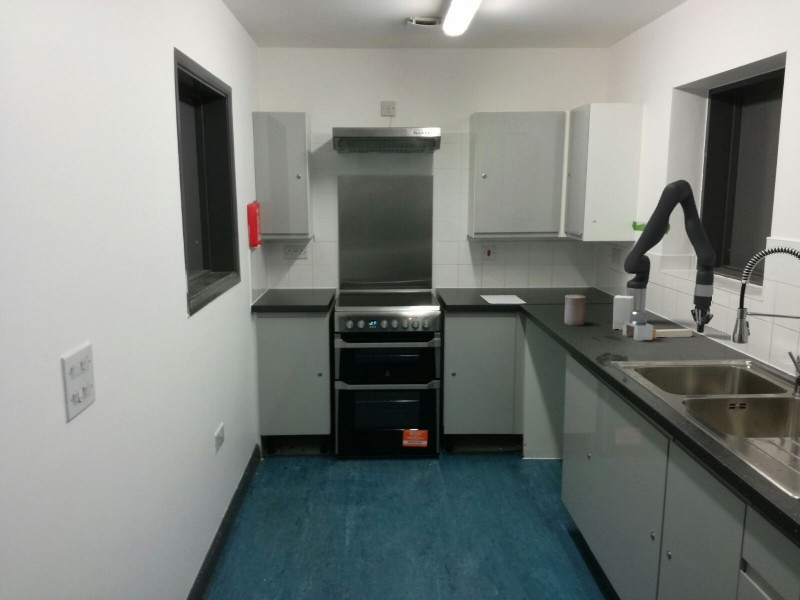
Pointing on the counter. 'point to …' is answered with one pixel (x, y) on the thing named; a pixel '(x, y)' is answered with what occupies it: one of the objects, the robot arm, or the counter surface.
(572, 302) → the pillar candle
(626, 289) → the robot arm
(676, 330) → the plug rod
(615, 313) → the skincare box
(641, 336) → the grey box with ball
